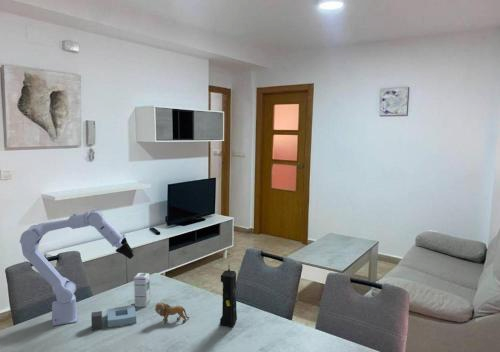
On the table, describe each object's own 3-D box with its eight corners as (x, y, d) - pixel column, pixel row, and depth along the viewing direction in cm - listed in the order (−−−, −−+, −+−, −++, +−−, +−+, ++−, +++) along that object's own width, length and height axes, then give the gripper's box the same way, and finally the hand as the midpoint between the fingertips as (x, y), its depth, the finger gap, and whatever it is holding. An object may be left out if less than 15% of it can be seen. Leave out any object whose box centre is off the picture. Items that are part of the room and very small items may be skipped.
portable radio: (233, 329, 162) (234, 272, 159) (219, 327, 163) (220, 270, 160) (237, 320, 169) (238, 265, 166) (224, 318, 170) (225, 264, 167)
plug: (91, 330, 158) (91, 316, 157) (91, 325, 162) (91, 312, 161) (102, 329, 160) (101, 315, 159) (102, 324, 163) (101, 311, 163)
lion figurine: (155, 326, 163) (155, 306, 162) (154, 320, 168) (154, 300, 167) (190, 321, 167) (190, 302, 166) (188, 316, 172) (188, 297, 171)
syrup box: (146, 307, 180) (146, 277, 178) (134, 306, 180) (133, 277, 178) (150, 301, 186) (149, 272, 184) (138, 301, 186) (137, 272, 184)
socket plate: (107, 327, 161) (107, 320, 160) (107, 315, 171) (107, 308, 171) (136, 323, 165) (136, 316, 164) (134, 311, 175) (134, 305, 175)
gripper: (117, 229, 160) (139, 252, 164) (117, 224, 174) (137, 245, 177) (104, 241, 159) (126, 264, 162) (104, 235, 172) (125, 256, 176)
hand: (131, 255), depth 170 cm, fingers open, 7 cm apart
